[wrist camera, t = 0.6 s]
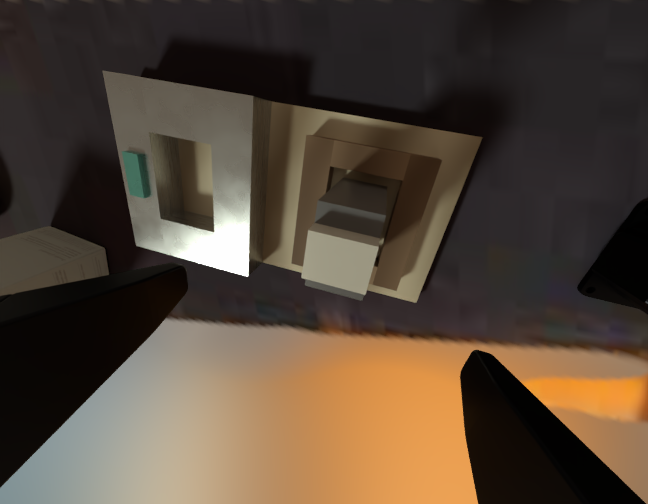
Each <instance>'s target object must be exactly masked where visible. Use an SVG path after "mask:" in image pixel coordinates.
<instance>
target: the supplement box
mask: <svg viewBox="0 0 648 504" xmlns="http://www.w3.org/2000/svg"><path fill="white" fill-rule="evenodd" d="M105 275H109V271H108V264H107V257H106V251H105V248H104V247H101V246H99V245H96V244H94V243H92V242H89V241H86V240H84V239H82V238H79V237H77V236H74V235H72V234H69V233H67V232H64V231H61V230H59V229H56V228H54V227H50V226H47V227H43V228H39V229H36V230H32V231H29V232H25V233H21V234H18V235H14V236H10V237H6V238H3V239H0V296H2V295H8V294H12V295H13V294H15V293H18V292H23V291H28V290H34V289H39V288H44V287H49V286H54V285H59V284H64V283H69V282H75V281H80V280H85V279H90V278H95V277H100V276H105Z"/></svg>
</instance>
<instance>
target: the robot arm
mask: <svg viewBox="0 0 648 504" xmlns="http://www.w3.org/2000/svg"><path fill="white" fill-rule="evenodd" d="M647 209H648V202H643V203H641V204H639V205H637V206H636V207H635V208H634V210H633V211H632V212H631V214H630V215H629V217H628V218H627V219H626V221H625V222H624V223H623V225H622V226H621V228H620V229H619V230H618V232H617V233H616V234H615V236H614V237H613V238H612V240H611V241H610V243H609V244H608V245H607V247H606V248H605V249H604V251H603V252H602V254H601V255H600V256H599V258H598V259H597V260H596V262H595V263H594V264H593V266H592V267H591V269H590V270H589V271H588V273H587V274H586V275H585V277H584V278H583V280H582V281H581V282H580V284H579V285H578V287H577V288H578V291H579V292H580V293H582V294H583V295H585V296H588V297H592V298H596V299H600V300H604V301H608V302H613V303H617V304H621V305H625V306H629V307H634V308H638V309H640V310H642V311H643V312H645V313H646V314H648V213H646V214H645V211H646V210H647ZM589 287H591V288H590V289H589V290H586V289H587V288H589ZM187 290H188V280H187V270H186V268H185V266H183V265H180V264H177V263H167V264H162V265H157V266H152V267H147V268H141V269H136V270H131V271H126V272H121V273H116V274H111V275H105V276H100V277H95V278H90V279H85V280H80V281H75V282H69V283H64V284H59V285H54V286H49V287H44V288H39V289H34V290H28V291H23V292H18V293H15V294H13V295H12V294H8V295H2V296H0V487H1V486H2V485H3V484H4V483H5V482H6V481H7V480H8V479H9V478H10V477H11V476H12V475H13V474H14V473H15V472H16V471H17V470H18V469H19V468H20V467H21V466H22V465H23V464H24V463H25V462H26V461H27V460H28V459H29V458H30V457H31V456H32V455H33V454H34V453H35V452H36V451H37V450H38V449H39V448H40V447H41V446H42V445H43V444H44V443H45V442H46V441H47V440H48V439H49V438H50V437H51V436H52V434H54V433H55V432H56V431H57V430H58V429H59V428H60V427H61V426H62V425H63V424H64V423H65V421H67V419H69V417H70V416H71V415H73V413H74V412H75V411H76V410H77V409H78V408H79V407H80V406H81V405H82V404H83V403H84V402H85V401H86V400H87V399H88V398H89V397H90V396H91V395H92V394H93V393H94V392H95V391H96V390H97V389H98V388H99V387H100V386H101V385H102V384H103V383H104V382H105V381H106V380H107V379H108V378H109V377H110V376H111V375H112V374H113V373H114V372H115V371H116V370H117V369H118V368H119V367H120V366H121V365H122V364H123V363H124V362H125V361H126V360H127V359H128V358H129V357H130V356H131V355H132V354H133V353H134V352H135V351H136V350H137V349H138V348H139V346H141V345H142V344H143V343H144V342H145V341H146V340H147V339H148V338H149V337H150V335H151V334H152V333H153V332H154V331H155V330H156V329H157V328H158V327H159V325H160V324H161V323H162V322H163V321H164V319H165V318H166V317H167V316H168V315H169V313H170V312H171V311H172V310H173V309H174V307H175V306H176V305H177V304H178V302H179V301H180V300H181V299H182V298H183V296H184V295H185V294H186V292H187ZM460 379H461V392H462V403H463V416H464V427H465V436H466V442H467V448H468V452H469V458H470V463H471V468H472V473H473V479H474V484H475V489H476V494H477V500H478V504H646V503H645V502H644V501H643V500H642V499H641V498H640V497H639V496H638V495H637V494H635V493H634V492H633V491H632V490H631V489H630V488H629V487H628V486H627V485H626V484H625V483H624V482H623V481H622V480H621V479H620V478H619V477H618V476H617V475H616V474H615V473H614V472H613V471H612V470H610V468H609V467H607V465H606V464H604V463H603V462H602V461H601V460H600V459H599V458H598V457H597V456H596V455H595V454H594V453H593V452H592V451H591V450H590V449H589V448H588V447H587V446H586V445H585V444H584V443H583V442H582V441H581V440H580V439H579V438H578V437H577V436H576V435H575V434H573V432H571V431H570V430H569V429H568V428H567V427H566V426H565V425H564V424H563V423H562V422H561V421H560V420H559V419H558V418H557V417H556V416H555V415H554V414H553V413H552V412H551V411H550V410H549V409H548V408H547V407H546V406H545V405H544V404H543V403H542V402H541V401H539V400H538V399H537V398H536V397H535V396H534V395H533V394H532V393H531V392H530V391H529V390H528V389H527V388H526V387H525V386H524V385H523V384H522V383H521V382H520V381H519V380H518V379H517V378H516V377H515V376H513V374H511V372H510V371H509V370H507V369H506V368H505V367H504V366H503V365H502V364H501V363H500V362H499V361H498V360H497V359H496V358H495V357H494V356H493V355H491V354H489V353H486V352H483V351H479V350H474V351H473V352H472V353H471V354H470V356H469V358H468V360H467V361H466V363H465V365H464V366H463V368H462V370H461V375H460Z"/></svg>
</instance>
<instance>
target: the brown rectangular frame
mask: <svg viewBox="0 0 648 504" xmlns="http://www.w3.org/2000/svg"><path fill="white" fill-rule="evenodd" d="M441 162H442V160H441V159H439V158H434V157H429V156H424V155H418V154H413V153H407V152H402V151H397V150H391V149H386V148H380V147H375V146H370V145H364V144H359V143H353V142H348V141H343V140H337V139H332V138H326V137H321V136H316V135H306V141H305V150H304V159H303V167H302V176H301V185H300V193H299V202H298V210H297V219H296V228H295V236H294V245H293V253H292V262H291V264H295V265H299V266H303V263H304V256H305V249H306V242H307V235H308V230H309V229H310V227H311V226H312V225H313V224H314V222H315V215H316V209H317V202H318V200H319V199H320V198H321V197H322V196H323V195H324V194H325V193H327V192H328V191H329V190H330V188H331V183H332V177H333V171H334V167H337V168H342V169H347V170H352V171H357V172H362V173H367V174H371V175H376V176H381V177H386V178H391V179H396V180H401V182H400V185H399V189H398V192H397V196H396V199H395V203H394V206H393V209H392V213H391V216H390V220H389V223H388V227H387V230H386V234H385V237H384V241H383V244H382V247H381V251H380V254H379V258H376V259H375V263H374V266H373V270H372V273H371V277H370V280H369V284H371V285H375V286H379V287H383V288H387V289H391V290H394V291H397V288H398V285H399V283H400V280H401V277H402V274H403V271H404V268H405V265H406V263H407V260H408V257H409V254H410V251H411V248H412V245H413V243H414V240H415V237H416V234H417V231H418V228H419V225H420V223H421V220H422V217H423V214H424V211H425V208H426V205H427V202H428V200H429V197H430V194H431V191H432V188H433V185H434V182H435V180H436V177H437V174H438V171H439V168H440V165H441Z"/></svg>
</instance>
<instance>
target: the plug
mask: <svg viewBox="0 0 648 504" xmlns="http://www.w3.org/2000/svg"><path fill="white" fill-rule="evenodd" d="M386 206H387V186H383V185H378V184H373V183H368V182H363V181H359V180H354V179H349V178H344V177H343V178H342V179H341V180H340V181H339V182H338V183H337V184H335V185H334V186H333V187H332V188H331V189H330V190H329V191H328V192H327V193H325V194H324V195H323V196H322V197H321V198H320V199H319V200H318V202H317V209H316V215H315V222H314V224H313V225H312V226H311V227H310V229H309V230H308V235H307V242H306V249H305V256H304V263H303V270H302V277H301V278H304V279H306V282H305V286H309V287H313V288H316V289H320V290H324V291H328V292H331V293H335V294H339V295H342V296H346V297H350V298H353V299H357V300H361V301H362V300H363V296H364V295H365V294H366V291H367V287H368V284H369V280H370V277H371V273H372V270H373V266H374V263H375V259H376V256H377V252H378V249H379V241H380V236H381V232H382V229H383V225H384V221H385V218H386Z"/></svg>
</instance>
